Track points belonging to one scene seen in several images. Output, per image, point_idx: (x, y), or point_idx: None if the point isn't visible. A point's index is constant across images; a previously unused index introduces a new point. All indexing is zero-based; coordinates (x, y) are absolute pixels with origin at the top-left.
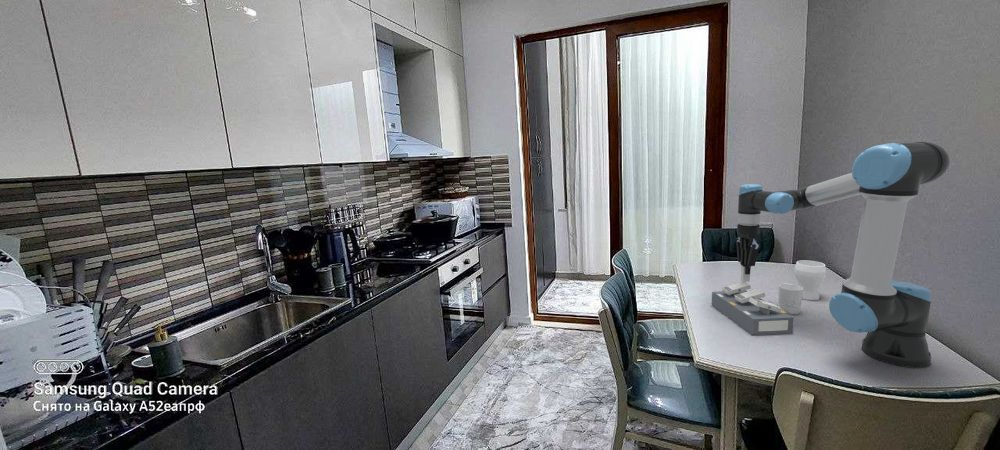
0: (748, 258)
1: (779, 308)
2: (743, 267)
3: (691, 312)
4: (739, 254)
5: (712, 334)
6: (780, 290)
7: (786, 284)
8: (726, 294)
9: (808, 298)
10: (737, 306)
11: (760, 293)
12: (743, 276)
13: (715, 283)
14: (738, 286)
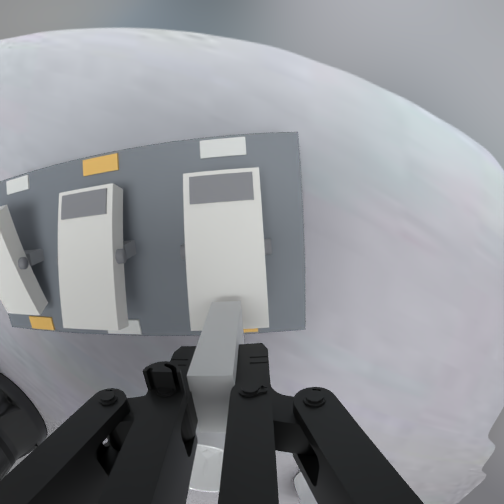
0: (70, 454)
1: (6, 305)
2: (191, 367)
3: (209, 37)
4: (330, 472)
5: (39, 71)
6: (197, 433)
7: None
8: None
9: (299, 475)
10: (74, 175)
11: (62, 306)
12: (205, 324)
13: (499, 285)
14: (209, 261)
